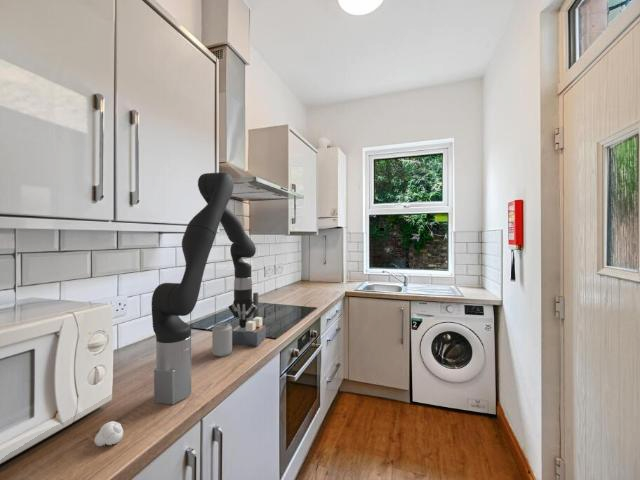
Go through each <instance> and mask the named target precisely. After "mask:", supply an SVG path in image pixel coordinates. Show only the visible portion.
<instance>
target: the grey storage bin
mask: <svg viewBox="0 0 640 480" xmlns="http://www.w3.org/2000/svg"><path fill="white" fill-rule="evenodd" d="M266 329H267V327H266V325H263V324H262V326H260V327H256V329H255V330H254V331H253V332H251V331H246V326H245V327H244V328H240V326H239V325H237V326H236V327H235V328H232V346H239V347H241V346H242V347H255V348H257V347H259V346H260V345H261V344H262V343H263V342H264V341H265V340H264V339H265V338H267V337H266V336H267V332H266ZM263 340H264V341H263ZM262 341H263V342H262ZM261 342H262V343H261Z"/></svg>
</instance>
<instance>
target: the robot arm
mask: <svg viewBox="0 0 640 480" xmlns="http://www.w3.org/2000/svg"><path fill="white" fill-rule="evenodd" d="M234 184H235V183H234V178H233V176H232V175H230V174H229V173H228V172H208V173H206V172H205V173H203V174H200V176H199V177H198V179H197V187H198V188H197V189H198V191H199V192H200V195H201V197H202V198H203V199H204V201H205V202H206V205H205V206H204V207H203V208H202V209H201V210H200V211H199V212H198V213H196V214H195V215H194V216H193V217H192V218H191V220H190V221H189V222H188V224H187V226H186V228H185V232H183V236H182V239H181V249H182V254H183V257H184V261H185V269H184V273H183V275H182V276H183V277H182V279H181V281H180V282H179V283H177V282H163V283H161V284H159V285H157V287H156V288H155V289H154V291H153V293H152V296H151V297H152V298H151V316H152V318H151V319H152V329H153V333H154V334H155V345H156V346H155V352H156V353H155V357H156V358H155V359H156V360H155V362H156V363H155V366H156V367H155V368H154V370H153V392H154V393H153V395H154V396H153V402H154V403H156V404H163V405H164V404H165V405H175V404H176V403H178V402H181V401H183V400H185V399H187V398H188V397H189V396H190V395H191V394H192V328H191V325H189V324H188V323H187V322H185V321H184V320H182V319H181V318H180V317H185V316H188V315H190V314H191V313H192V312H193V310H194V309H195V307H196V305H197V302H198V299H199V294H200V290H201V286H202V282H203V276H204V273H205V270H206V266H207V262H208V260H209V255H210V253H211V250H212V247H213V245H214V241H215V239H216V235H217V232H218V229H219V226H220V224H221V226H222V228H223V230H224V231H225V234H226V236H227V238H228V240H229V241H230V242H231V243H232V244H231V245H230V256H231V260H232V263H233V266H234V280H233V299H234V300H233V302H232V304H230V305H229V306H228V309H229V310H230V312H231V313H232V315H233V316H234V318H237V319H238V320H239V321H238V323H239V325H238V326H240V328H244V327H245V326H246V323H247V322H248V319H250V317H253V313H254V312H255V310H256V309H257V308H258V309H259V306H258V307H257V306H255V305H254V304H253V279H252V265H251V264H250V263H248V262H245V261H244V260H243V259H250V258H253V257H254V256H255V255H256V251H257V250H256V249H257V248H256V245H255V243H254V241H253V240H252V239H251V238H250V236H249V235H248V234H247V233H246V232H245V229H244V227H243V225H242V221H241V220H240V219H239V217H238V216H237V215H236V214H235V213H234V212H233V211H231V209H229V208H228V207H227V206H228V204H229V202H230V200H231V197H232V195H233V192H234V186H235V185H234Z"/></svg>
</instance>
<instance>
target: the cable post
mask: <svg viewBox="0 0 640 480" xmlns="http://www.w3.org/2000/svg"><path fill="white" fill-rule="evenodd" d="M252 301H253V304H254V305H255V306H257V307H258V308H257V309H256V310H255V312H254V313H253V314H252V320H253V319H254V318H255V317H259V292H252Z"/></svg>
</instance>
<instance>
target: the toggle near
mask: <svg viewBox="0 0 640 480" xmlns="http://www.w3.org/2000/svg"><path fill="white" fill-rule="evenodd" d="M255 329H256V321H253V320H247V323H246V331H251V332H253V331H254V330H255Z"/></svg>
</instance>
